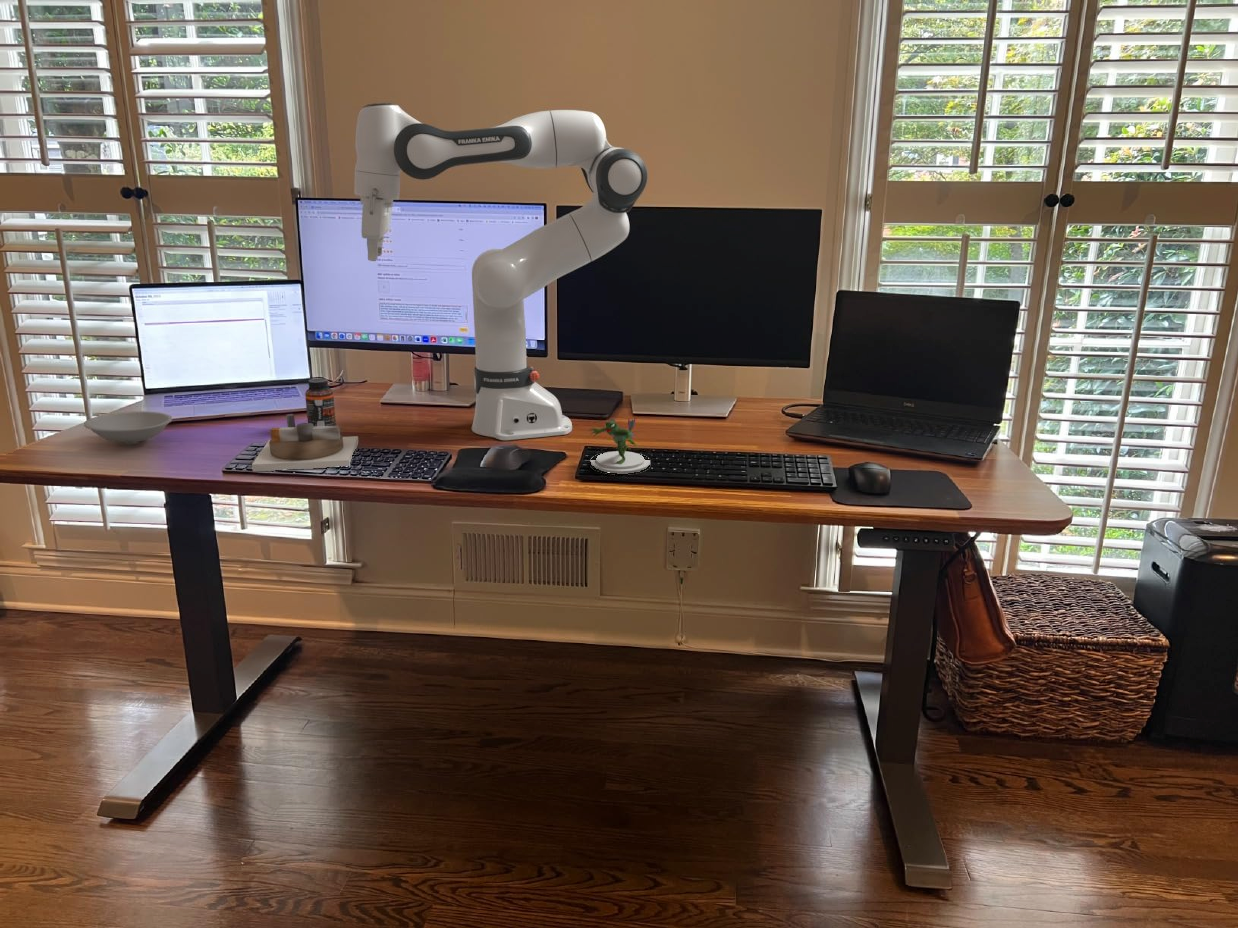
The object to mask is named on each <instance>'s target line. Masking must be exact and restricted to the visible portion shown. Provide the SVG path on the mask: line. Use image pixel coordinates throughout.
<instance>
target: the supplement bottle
mask: <svg viewBox="0 0 1238 928" xmlns="http://www.w3.org/2000/svg"><path fill="white" fill-rule="evenodd" d="M307 382H308V389H306V390H305V393H304V394H305V395H304V397H305V405H306V406H305V407H306V415H307V423H312V424H313V426H337V420H336V417H337V416H336V411H335V401H334V399H335V398H334V392H333V389H332V388H330V386H329V383H328V379H327V378H322V377H321V378H320V377H319V378H318V377H317V378H310V379H309V380H307Z"/></svg>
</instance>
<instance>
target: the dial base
mask: <svg viewBox="0 0 1238 928" xmlns="http://www.w3.org/2000/svg"><path fill="white" fill-rule="evenodd" d="M285 416H286V425H287V427H296V422H295V421H296V420H295V415H294V414H293V413H289V414H285ZM270 440H271V439H268V441H267V442H266V443H265V445H264V447H262V449H261V450H260V452H259V454H258V455H257V456H256V458H255V459H254V461H253V462H252V463H251V468H252V473H255V472H256V473H257V472H258V473H259V472H276V471H275V470H282V471H284V470H283V469H304V470H314V469H313V468H326V467H334V466H349V465H350V466H351V464H350V462H351V459H352V455H353V452H354V450H355V449H356V450H357V448H358V445H359V436H343V448H342V449H341V450H340V451H339V452H337V453H334V454H332V455H329V456H325V457H320V458H314V459H305V460H288V459H281V458H277V457H274V456H273V455H271V453H270V445H269V442H270ZM352 460H353V459H352ZM351 463H352V462H351Z"/></svg>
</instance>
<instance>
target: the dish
mask: <svg viewBox="0 0 1238 928" xmlns="http://www.w3.org/2000/svg"><path fill="white" fill-rule="evenodd" d="M172 421H173V416H171V415H170V414H168V413H164V412H158V411H150V410H149V411H147V410H145V411H144V410H143V411H142V410H138V411H136V410H135V411H121V412H112V413H107V414H102V415H98V416H94V417H91V418H89V419H86V420H85V421H84V422H83V426H84V427H85V428H86V429H89V430H90V431H92V432H93V433H95V434H96V435H97V436H99V437H100V438H102V439H105V440H108V441H111V442H112V441H113V442H117V443H127V444H128V445H135V444H137V443H138V442H141V441H147V440H149V439H152V438H155V437H156V436H158V434H160V433H161V432H162V431H163V430H164V429H165V428H166V427H167V425H168V424H170V423H171V422H172Z"/></svg>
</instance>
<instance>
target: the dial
mask: <svg viewBox="0 0 1238 928" xmlns="http://www.w3.org/2000/svg"><path fill="white" fill-rule="evenodd" d="M269 431H270V432H269V433H270V439H269V440H270V442H269V445H270V453H271V455H273V456H274V457H277V458H281V459H288V460H305V459H314V458H320V457H325V456H329V455H332V454H334V453H337V452H339V451H340V450H341V449H342V448H343V437H344V436H343V435H342V433H341V431H340V425H336V426H313V424H312V423H308V422H301V423H298V424H295V427H288V426H287V427H281V426H280V427H271V428H270V429H269Z"/></svg>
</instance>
